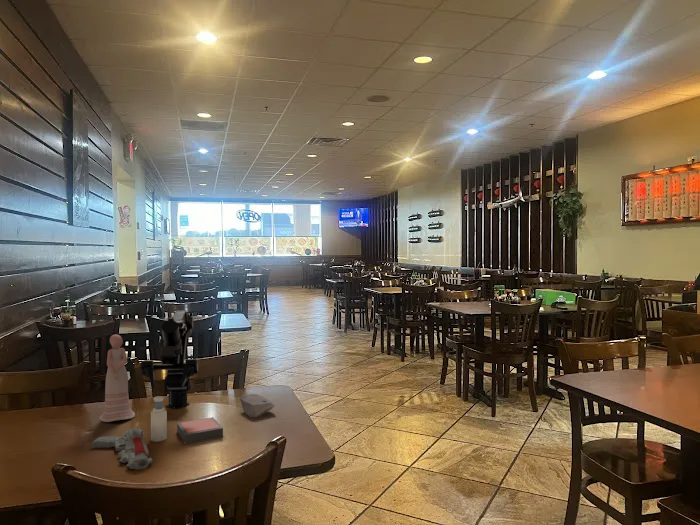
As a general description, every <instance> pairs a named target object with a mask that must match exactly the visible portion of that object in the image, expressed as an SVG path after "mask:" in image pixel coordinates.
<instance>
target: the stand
mask: <svg viewBox="0 0 700 525" xmlns="http://www.w3.org/2000/svg"><path fill="white" fill-rule="evenodd" d="M176 431H177V434H178V435H179V437H180V439H181V440H182V441H183V443H184V444H185V445H187V444H192V443H200V442H205V441H210V440H215V439H220V438H224V428H223V427H222V425H221V424H220V423H219V422H218V421H217V420H216V419H215V418H214V417H206V418H202V419H201V418H200V419H193V420H189V421H188V420H187V421H181V422H177V423H176Z"/></svg>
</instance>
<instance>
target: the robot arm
mask: <svg viewBox="0 0 700 525" xmlns="http://www.w3.org/2000/svg"><path fill="white" fill-rule="evenodd" d="M160 329H161V330H160V331H161V334H162V339H163V341H164V342H163V346H161V347H160V355H159V356H160V359H159V360H160V362H161V363H154V360H152V359H151V360H150V359H148V360H142V361H141V362H140V364H139V369H140V372H141V376H144V377H145V378H148V379H149V382H150V385H151V390H154V389H155V380H156V379H155V378H156V377H155V376H156V375H155V372H156V371H163V370H165V371H167V373H166V375H165V376H164V390H165V391H164V392H165V393H166V392H167V393H168V404H166V405H165V407H167V408H171V409H181V408H183V407H185V406H189V405H190V402H188V394H187V391H190V390H191V389H192V388H191V387H192V386H191V379H190V378H191V377H193V376H194V375H195V374H196V375H197V374H198V373H199V363H198V360H197V358H186V351H187V342H188V341H187V340H188V339H189V337H191V335H192V331H193V330H194V317H193V316H191V315H190V314H188V310H175V311H174V312H173V315H172V317H171V318H168V319H167V320H166V321H164V322H163V323H162V324H161V326H160Z"/></svg>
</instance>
